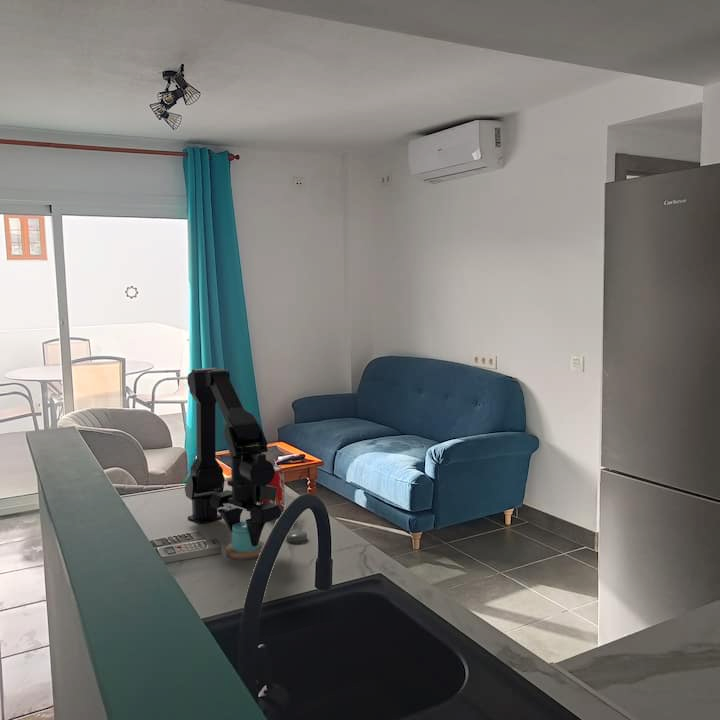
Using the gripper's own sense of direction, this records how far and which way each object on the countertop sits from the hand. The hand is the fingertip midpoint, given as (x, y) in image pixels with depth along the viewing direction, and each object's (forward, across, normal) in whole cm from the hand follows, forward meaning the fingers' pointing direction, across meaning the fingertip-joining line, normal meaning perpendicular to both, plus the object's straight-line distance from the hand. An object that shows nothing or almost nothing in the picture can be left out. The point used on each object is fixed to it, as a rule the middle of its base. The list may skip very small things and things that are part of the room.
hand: (245, 542), depth 163 cm
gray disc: (+2, -3, -13) cm, 14 cm away
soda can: (+2, +17, -23) cm, 29 cm away
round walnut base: (+2, 0, 0) cm, 2 cm away
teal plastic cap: (+1, 0, 0) cm, 1 cm away
